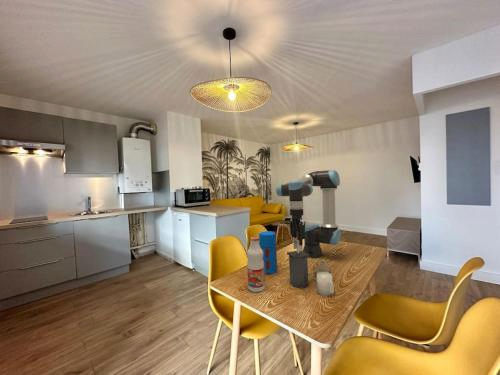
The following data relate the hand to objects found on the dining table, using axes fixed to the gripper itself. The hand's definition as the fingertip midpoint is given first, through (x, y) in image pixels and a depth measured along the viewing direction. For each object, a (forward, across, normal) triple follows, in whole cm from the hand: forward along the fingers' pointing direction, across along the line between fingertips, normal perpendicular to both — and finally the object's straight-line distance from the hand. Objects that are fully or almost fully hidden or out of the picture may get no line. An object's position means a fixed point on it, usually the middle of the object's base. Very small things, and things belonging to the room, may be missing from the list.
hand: (298, 249), depth 117 cm
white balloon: (+19, +14, +7) cm, 25 cm away
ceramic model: (+20, 0, +17) cm, 26 cm away
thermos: (+20, -22, -9) cm, 31 cm away
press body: (+19, -1, 0) cm, 19 cm away
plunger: (+11, 0, 0) cm, 11 cm away
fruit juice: (+20, -5, -24) cm, 31 cm away
